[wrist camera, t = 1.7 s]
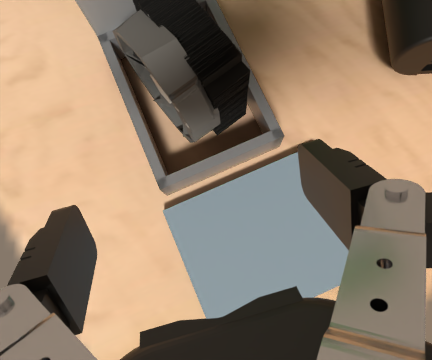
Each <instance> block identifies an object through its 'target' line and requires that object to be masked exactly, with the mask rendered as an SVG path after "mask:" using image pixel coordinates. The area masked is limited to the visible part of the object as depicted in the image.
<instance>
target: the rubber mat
mask: <svg viewBox="0 0 432 360" xmlns="http://www.w3.org/2000/svg"><path fill="white" fill-rule="evenodd" d="M163 213H164V215H165V218H166V220H167V223H168V225H169V228H170V230H171V232H172V235H173V237H174V240H175V242H176V245H177V247H178V250H179V252H180V255H181V257H182V260H183V262H184V265H185V267H186V270H187V272H188V275H189V277H190V279H191V282H192V284H193V287H194V289H195V292H196V294H197V297H198V299H199V302H200V304H201V307H202V309H203V312H204V314H205V317H206V319H209V318H220V317H223V316H225V315H227V314H229V313H231V312H233V311H234V310H236V309H238V308H240V307H242V306H244V305H245V304H247V303H249V302H251V301H253V300H255V299H256V298H258V297H261V296H265V295H268V294H271V293H275V292H278V291H282V290H285V289H288V288H292V287H295V286H297V288H298V290H299V292H300V294H301V296H302V298H308V297H309V298H313V297H315V296H317V295H320V294H322V293H324V292H326V291H328V290H331V289H333V288H335V287H337V286H339V285H340V283H341V279H342V275H343V272H344V268H345V264H346V260H347V256H348V252H349V250H348V249H347V248H346V247H345V245H344V244H343V243H342V242H341V240H340V239H339V238H338V237H337V236H336V234H335V233H334V232H333V231H332V229H331V228H330V227H329V226H328V224H327V223H326V222H325V221H324V219H323V218H322V217H321V216H320V214H319V213H318V212H317V211H316V209H315V208H314V207H313V206H312V205H311V203H310V202H309V201H308V200H307V198H306V196H305V194H304V192H303V189H302V185H301V178H300V168H299V159H298V152H296V153H294V154H291V155H289V156H287V157H285V158H282V159H280V160H278V161H275V162H273V163H271V164H268V165H266V166H264V167H262V168H259V169H257V170H255V171H252V172H250V173H248V174H246V175H243V176H241V177H239V178H236V179H234V180H232V181H230V182H227V183H225V184H223V185H220V186H218V187H216V188H214V189H211V190H209V191H207V192H204V193H202V194H200V195H197V196H195V197H193V198H191V199H188V200H186V201H184V202H181V203H179V204H177V205H175V206H172V207H170V208H168V209H165V210H163Z"/></svg>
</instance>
